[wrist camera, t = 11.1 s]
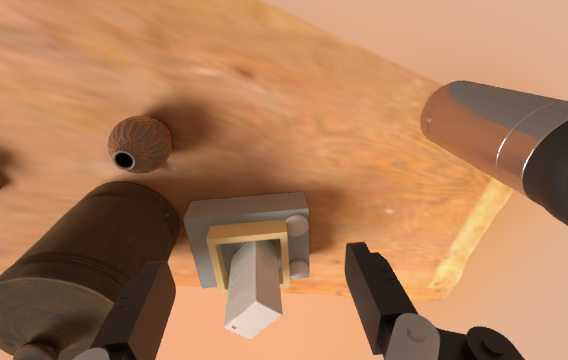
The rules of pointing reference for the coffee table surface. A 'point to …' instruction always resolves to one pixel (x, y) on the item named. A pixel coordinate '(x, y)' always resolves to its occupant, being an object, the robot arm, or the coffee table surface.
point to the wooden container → (82, 270)
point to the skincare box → (253, 289)
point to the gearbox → (248, 234)
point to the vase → (140, 144)
